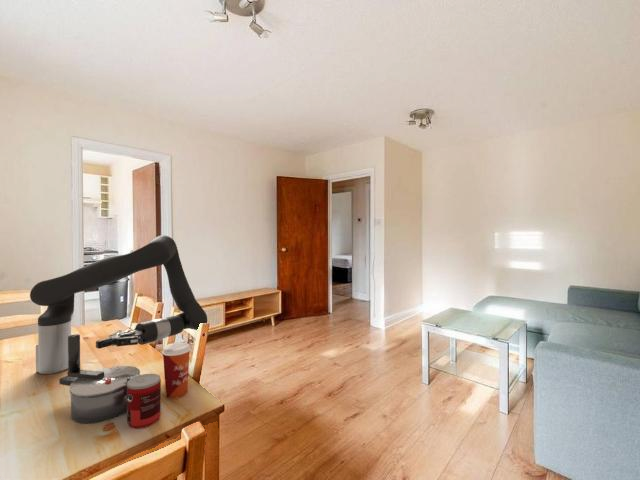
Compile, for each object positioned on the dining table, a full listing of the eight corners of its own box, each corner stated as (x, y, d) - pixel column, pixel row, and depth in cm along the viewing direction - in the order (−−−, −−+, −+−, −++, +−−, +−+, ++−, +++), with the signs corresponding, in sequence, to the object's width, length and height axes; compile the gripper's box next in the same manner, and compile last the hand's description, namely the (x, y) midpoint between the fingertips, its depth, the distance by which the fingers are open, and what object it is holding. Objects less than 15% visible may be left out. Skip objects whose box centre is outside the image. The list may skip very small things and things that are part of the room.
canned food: (136, 412, 86) (135, 373, 85) (165, 411, 86) (165, 372, 86) (120, 430, 78) (120, 387, 78) (153, 428, 79) (153, 386, 78)
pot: (161, 397, 93) (161, 375, 93) (114, 430, 78) (114, 403, 78) (90, 386, 100) (90, 365, 100) (34, 414, 85) (33, 389, 84)
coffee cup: (179, 402, 91) (179, 352, 91) (155, 399, 93) (155, 349, 92) (196, 388, 99) (196, 342, 99) (174, 385, 101) (174, 340, 101)
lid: (159, 371, 95) (159, 331, 94) (115, 400, 78) (114, 351, 78) (95, 366, 99) (95, 327, 98) (40, 392, 82) (39, 345, 82)
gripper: (163, 344, 105) (106, 362, 91) (143, 337, 113) (88, 352, 98) (163, 323, 105) (106, 336, 91) (143, 317, 113) (87, 329, 98)
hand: (96, 345), depth 95 cm, fingers closed
